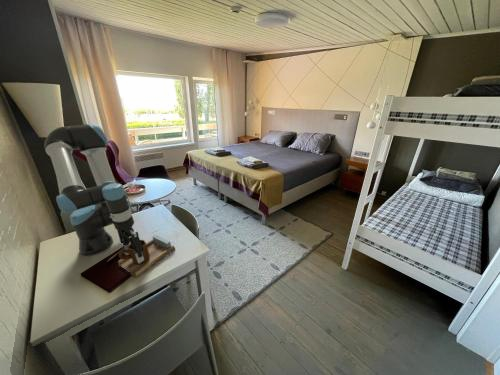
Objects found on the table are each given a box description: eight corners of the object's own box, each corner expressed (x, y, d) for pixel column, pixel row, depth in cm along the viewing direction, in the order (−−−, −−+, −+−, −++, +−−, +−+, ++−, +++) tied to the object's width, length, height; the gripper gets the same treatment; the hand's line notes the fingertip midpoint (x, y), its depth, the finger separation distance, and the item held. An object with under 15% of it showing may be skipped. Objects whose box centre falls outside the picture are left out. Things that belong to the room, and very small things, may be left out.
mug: (124, 272, 95) (118, 256, 91) (121, 263, 100) (116, 248, 96) (151, 260, 101) (147, 245, 97) (147, 252, 107) (143, 237, 103)
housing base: (118, 265, 100) (116, 261, 99) (157, 240, 117) (156, 236, 116) (136, 278, 93) (134, 274, 92) (175, 249, 110) (174, 245, 109)
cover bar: (154, 242, 114) (152, 236, 112) (157, 240, 115) (155, 234, 113) (168, 249, 108) (166, 243, 106) (171, 247, 109) (170, 241, 108)
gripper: (101, 216, 92) (116, 255, 101) (127, 229, 82) (141, 271, 91) (118, 208, 98) (131, 246, 107) (144, 220, 88) (156, 261, 97)
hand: (136, 258), depth 99 cm, fingers open, 7 cm apart
